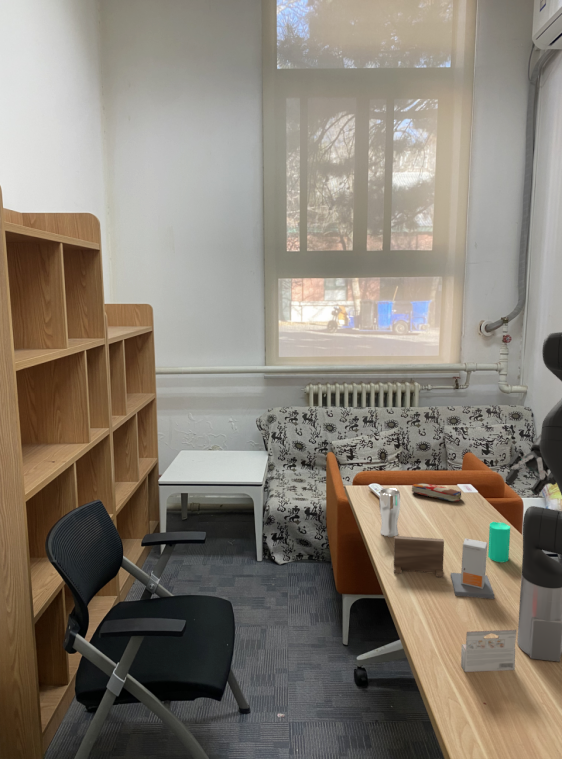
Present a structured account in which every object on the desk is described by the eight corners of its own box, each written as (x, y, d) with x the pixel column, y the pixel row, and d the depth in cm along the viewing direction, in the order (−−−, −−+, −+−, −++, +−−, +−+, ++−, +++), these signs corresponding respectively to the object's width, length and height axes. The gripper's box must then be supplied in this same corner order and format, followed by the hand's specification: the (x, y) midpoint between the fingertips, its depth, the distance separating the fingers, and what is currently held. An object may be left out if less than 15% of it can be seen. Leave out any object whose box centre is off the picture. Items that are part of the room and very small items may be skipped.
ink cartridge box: (460, 665, 115) (461, 624, 114) (509, 663, 116) (512, 622, 114) (464, 673, 113) (466, 631, 111) (515, 671, 113) (517, 629, 112)
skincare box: (460, 584, 145) (462, 543, 143) (462, 577, 149) (464, 537, 147) (483, 589, 142) (485, 548, 140) (485, 582, 146) (487, 541, 144)
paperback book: (422, 488, 223) (423, 476, 222) (465, 500, 209) (466, 488, 208) (407, 494, 216) (408, 483, 215) (451, 508, 201) (451, 495, 201)
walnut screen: (443, 577, 151) (444, 545, 149) (394, 573, 154) (394, 541, 152) (441, 567, 157) (442, 535, 155) (393, 563, 159) (394, 532, 158)
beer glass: (384, 538, 176) (385, 496, 173) (375, 530, 182) (376, 489, 180) (403, 536, 178) (404, 494, 175) (393, 527, 184) (394, 487, 182)
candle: (510, 563, 159) (512, 525, 157) (489, 561, 160) (491, 524, 158) (506, 553, 165) (508, 517, 163) (486, 552, 166) (488, 516, 164)
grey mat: (494, 598, 140) (494, 594, 140) (455, 595, 142) (455, 591, 142) (486, 579, 150) (487, 575, 150) (450, 576, 152) (450, 572, 151)
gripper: (525, 428, 150) (493, 472, 147) (570, 439, 137) (536, 487, 134) (537, 444, 153) (506, 487, 150) (582, 456, 140) (549, 504, 137)
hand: (520, 487), depth 142 cm, fingers open, 8 cm apart
